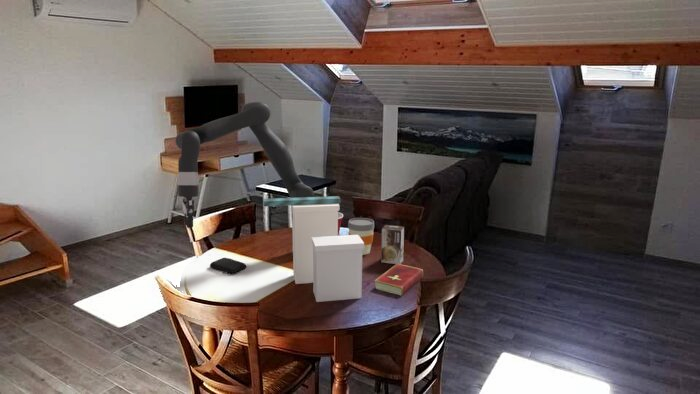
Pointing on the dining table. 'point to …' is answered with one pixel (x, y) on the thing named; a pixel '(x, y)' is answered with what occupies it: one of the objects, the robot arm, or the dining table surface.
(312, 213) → the tall stand
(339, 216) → the plastic cup
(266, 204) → the slat
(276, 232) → the dining table surface
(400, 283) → the hardcover book
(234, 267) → the carrying case or bag
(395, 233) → the coffee box
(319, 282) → the low stand
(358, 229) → the reusable coffee cup
